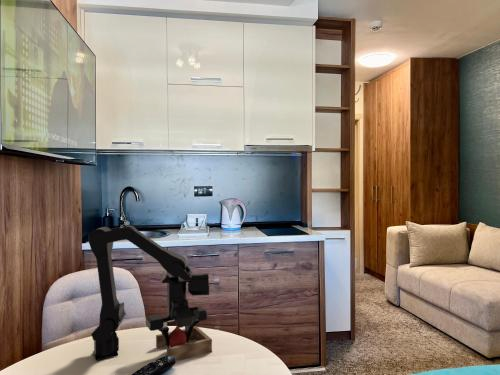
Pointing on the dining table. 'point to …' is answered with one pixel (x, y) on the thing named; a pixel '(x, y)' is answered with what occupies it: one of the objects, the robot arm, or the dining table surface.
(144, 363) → the dining table surface
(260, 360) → the dining table surface
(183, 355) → the ball
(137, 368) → the dining table surface
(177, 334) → the onion
